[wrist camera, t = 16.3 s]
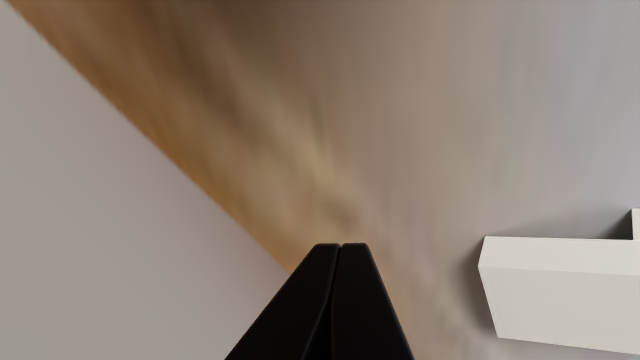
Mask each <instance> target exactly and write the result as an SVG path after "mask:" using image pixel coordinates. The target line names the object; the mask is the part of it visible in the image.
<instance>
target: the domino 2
mask: <svg viewBox="0 0 640 360" xmlns="http://www.w3.org/2000/svg"><path fill="white" fill-rule="evenodd" d="M632 224H633V240H640V208H633V209H632Z"/></svg>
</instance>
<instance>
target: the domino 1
mask: <svg viewBox="0 0 640 360" xmlns="http://www.w3.org/2000/svg"><path fill="white" fill-rule="evenodd" d="M478 269H479V272H480V276H481V279H482V283H483V286H484V290H485V294H486V297H487V301H488V304H489V308H490V311H491V315H492V318H493V322H494V325H495V329H496V333H497V336H498V337H500V338H508V339H516V340H524V341H533V342H541V343H549V344H557V345H565V346H573V347H581V348H589V349H598V350H606V351H614V352H622V353H630V354H638V355H640V240H608V239H570V238H532V237H494V236H485V239H484V243H483V247H482V251H481V255H480V259H479V264H478Z"/></svg>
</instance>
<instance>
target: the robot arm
mask: <svg viewBox="0 0 640 360" xmlns="http://www.w3.org/2000/svg"><path fill="white" fill-rule="evenodd" d="M225 360H415V359H414V356H413V354H412V352H411V349H410V347H409V344H408V342H407V339H406V337H405V334H404V332H403V330H402V327H401V325H400V322H399V320H398V317H397V315H396V313H395V310H394V308H393V305H392V303H391V300H390V298H389V296H388V293H387V291H386V288H385V286H384V283H383V281H382V278H381V276H380V274H379V271H378V269H377V266H376V264H375V261H374V259H373V257H372V254H371V252H370V249H369V247H368V245H367V244H365V243H344V244H343V245H342V247H341V245H339V244H337V243H321V244H316V245H315V246H314V247H313V248H312V249H311V250H310V252H309V253H308V254H307V255H306V257H305V258H304V259H303V261H302V262H301V263H300V264H299V266H298V267H297V268H296V269H295V271H294V272H293V273H292V274H291V276H290V277H289V278H288V280H287V281H286V282H285V283H284V285H283V286H282V287H281V288H280V290H279V291H278V292H277V294H276V295H275V296H274V297H273V299H272V300H271V301H270V302H269V304H268V305H267V306H266V307H265V309H264V310H263V311H262V313H261V314H260V315H259V317H258V318H257V319H256V320H255V322H254V323H253V324H252V325H251V326H250V328H249V329H248V331H247V332H246V333H245V334H244V335H243V337H242V338H241V339H240V340H239V342H238V343H237V344H236V345H235V347H234V348H233V349H232V351H231V352H230V353H229V354H228V356H227V357H226V358H225Z"/></svg>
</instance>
